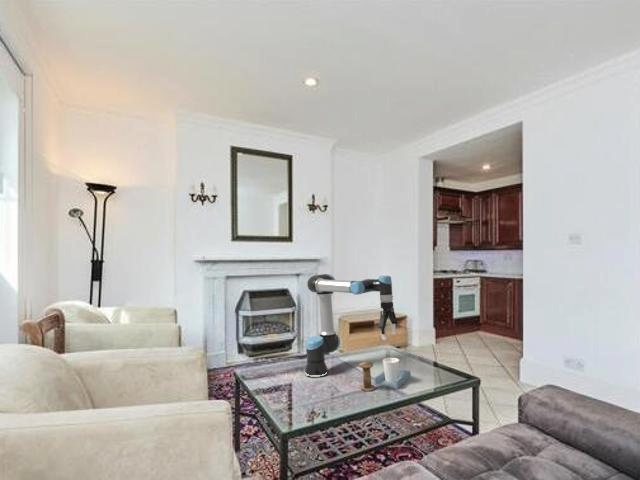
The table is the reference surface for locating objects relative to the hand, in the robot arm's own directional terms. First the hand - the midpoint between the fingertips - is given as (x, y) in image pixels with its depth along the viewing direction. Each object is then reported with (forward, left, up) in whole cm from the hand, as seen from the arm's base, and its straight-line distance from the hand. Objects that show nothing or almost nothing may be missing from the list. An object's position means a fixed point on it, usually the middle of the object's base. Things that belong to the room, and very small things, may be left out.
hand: (389, 336), depth 207 cm
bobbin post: (-8, -16, -26) cm, 32 cm away
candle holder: (0, 0, -26) cm, 26 cm away
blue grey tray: (0, +1, -26) cm, 27 cm away
